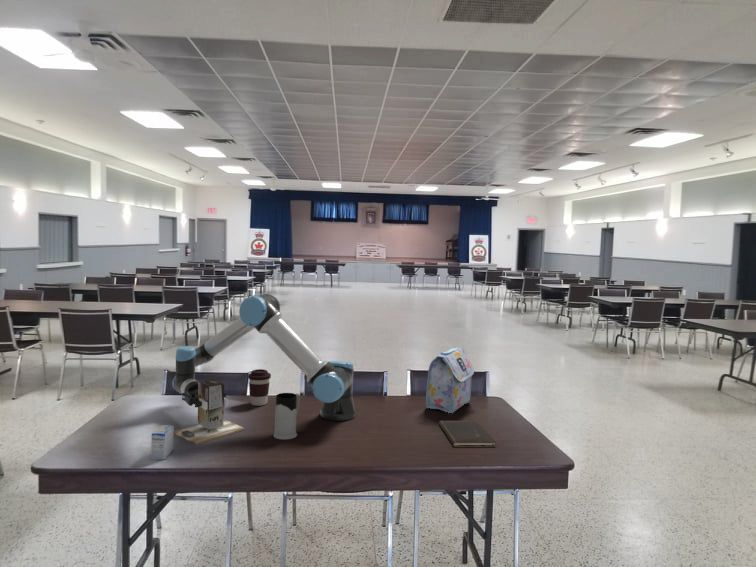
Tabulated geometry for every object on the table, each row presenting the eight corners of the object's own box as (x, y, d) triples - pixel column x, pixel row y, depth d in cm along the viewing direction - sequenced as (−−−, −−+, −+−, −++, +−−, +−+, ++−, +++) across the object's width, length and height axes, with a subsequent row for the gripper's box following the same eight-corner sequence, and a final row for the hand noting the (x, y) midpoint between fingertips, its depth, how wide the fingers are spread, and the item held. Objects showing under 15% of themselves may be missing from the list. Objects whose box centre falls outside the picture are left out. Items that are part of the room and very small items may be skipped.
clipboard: (244, 430, 181) (244, 425, 180) (196, 444, 165) (196, 439, 165) (220, 419, 191) (220, 415, 190) (172, 432, 175) (172, 428, 175)
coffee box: (224, 426, 177) (225, 383, 176) (208, 430, 173) (209, 386, 172) (212, 419, 184) (213, 378, 183) (196, 423, 179) (197, 381, 178)
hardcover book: (476, 426, 197) (476, 420, 197) (495, 448, 174) (495, 441, 174) (438, 426, 195) (438, 420, 195) (453, 448, 172) (453, 441, 172)
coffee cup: (274, 403, 215) (275, 370, 214) (258, 408, 207) (259, 374, 206) (259, 399, 220) (260, 367, 220) (242, 404, 212) (243, 371, 211)
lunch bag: (457, 416, 207) (460, 356, 205) (422, 408, 215) (425, 351, 214) (475, 404, 226) (478, 349, 224) (443, 397, 235) (445, 344, 233)
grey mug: (268, 437, 174) (269, 396, 174) (288, 425, 188) (289, 387, 187) (289, 441, 172) (290, 400, 171) (308, 428, 185) (309, 390, 184)
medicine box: (159, 450, 159) (160, 424, 159) (173, 450, 160) (174, 424, 159) (150, 460, 151) (151, 433, 151) (165, 460, 152) (165, 433, 151)
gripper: (217, 395, 198) (241, 409, 181) (167, 403, 185) (189, 419, 168) (217, 377, 197) (241, 390, 180) (168, 384, 184) (189, 398, 167)
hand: (216, 404), depth 174 cm, fingers closed on coffee box, 7 cm apart
